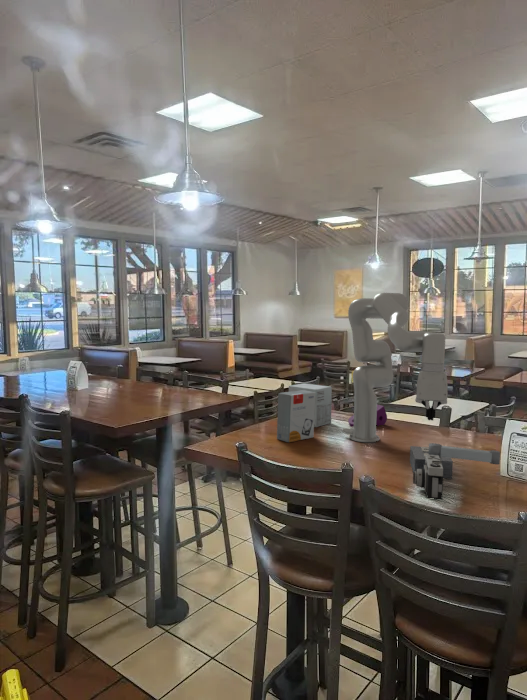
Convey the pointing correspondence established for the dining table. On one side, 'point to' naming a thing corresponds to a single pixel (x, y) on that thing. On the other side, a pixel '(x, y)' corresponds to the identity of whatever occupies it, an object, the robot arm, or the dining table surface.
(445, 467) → the chassis
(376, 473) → the dining table surface
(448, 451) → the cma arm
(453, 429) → the dining table surface
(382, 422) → the mounting bracket
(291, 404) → the hard drive box
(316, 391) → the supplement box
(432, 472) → the camera
